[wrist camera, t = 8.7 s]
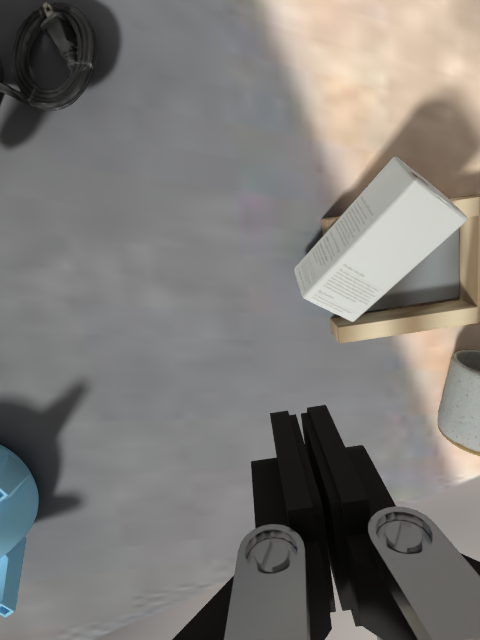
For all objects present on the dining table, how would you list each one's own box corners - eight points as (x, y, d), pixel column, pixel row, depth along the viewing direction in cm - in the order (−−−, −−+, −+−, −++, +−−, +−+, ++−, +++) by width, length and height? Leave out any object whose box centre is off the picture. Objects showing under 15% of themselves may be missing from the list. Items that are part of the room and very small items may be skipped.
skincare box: (338, 294, 39) (443, 192, 32) (353, 326, 35) (472, 220, 29) (289, 268, 36) (393, 150, 29) (300, 301, 33) (419, 177, 26)
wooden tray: (476, 194, 36) (497, 194, 33) (474, 311, 39) (493, 320, 36) (321, 218, 36) (329, 220, 34) (331, 333, 39) (339, 343, 37)
